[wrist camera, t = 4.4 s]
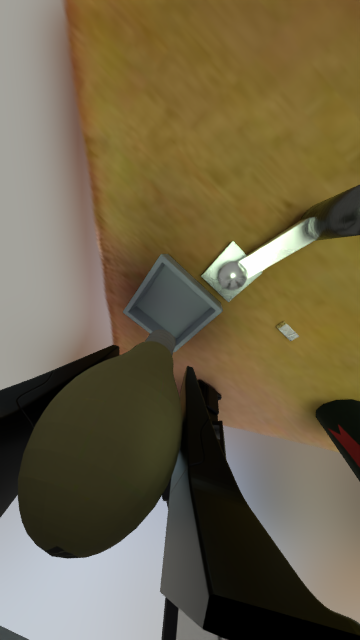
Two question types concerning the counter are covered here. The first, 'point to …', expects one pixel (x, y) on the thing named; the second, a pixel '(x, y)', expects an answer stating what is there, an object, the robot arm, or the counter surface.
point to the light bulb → (102, 452)
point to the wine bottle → (343, 429)
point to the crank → (298, 237)
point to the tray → (172, 302)
